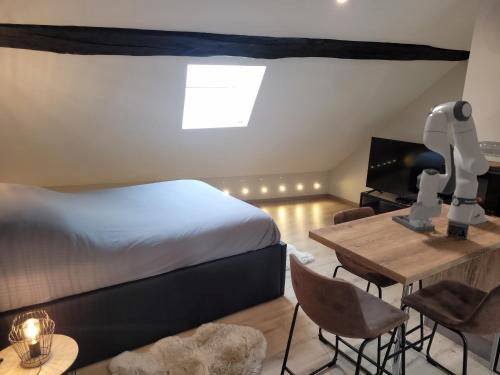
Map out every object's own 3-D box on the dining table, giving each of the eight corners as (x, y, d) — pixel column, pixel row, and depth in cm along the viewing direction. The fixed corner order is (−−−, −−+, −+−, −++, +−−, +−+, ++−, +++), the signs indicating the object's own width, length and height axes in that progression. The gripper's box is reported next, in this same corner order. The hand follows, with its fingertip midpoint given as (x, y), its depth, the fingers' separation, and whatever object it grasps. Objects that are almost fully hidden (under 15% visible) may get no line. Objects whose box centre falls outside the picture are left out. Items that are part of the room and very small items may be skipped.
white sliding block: (414, 224, 197) (416, 216, 196) (421, 228, 193) (422, 219, 192) (408, 225, 196) (410, 216, 195) (415, 228, 192) (416, 219, 190)
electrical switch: (467, 238, 183) (470, 221, 180) (466, 242, 179) (469, 225, 176) (446, 234, 188) (449, 218, 185) (445, 238, 184) (447, 221, 181)
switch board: (410, 218, 211) (410, 214, 211) (434, 230, 194) (435, 225, 193) (391, 219, 208) (392, 215, 207) (414, 231, 190) (415, 227, 190)
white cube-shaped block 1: (423, 224, 199) (425, 215, 198) (430, 227, 194) (432, 218, 193) (418, 224, 198) (419, 215, 197) (424, 227, 193) (426, 218, 192)
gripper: (417, 205, 179) (413, 231, 182) (445, 200, 187) (441, 225, 191) (407, 201, 184) (403, 227, 188) (434, 197, 193) (430, 221, 196)
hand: (422, 226), depth 189 cm, fingers closed
